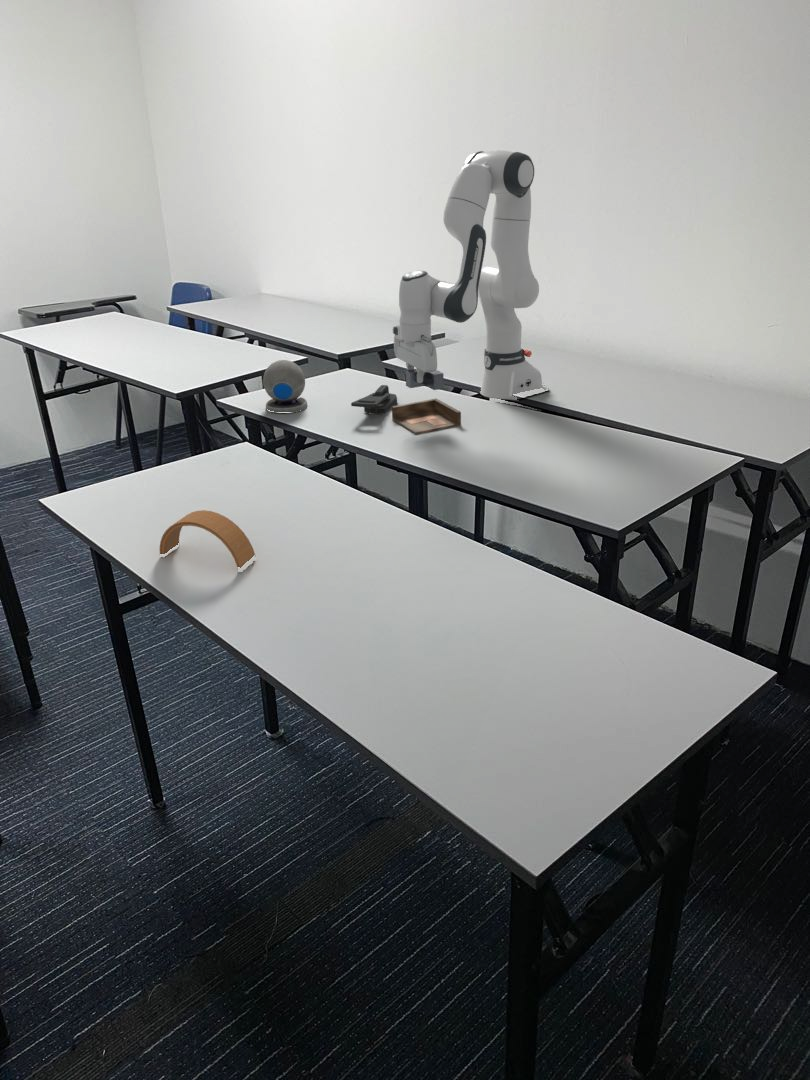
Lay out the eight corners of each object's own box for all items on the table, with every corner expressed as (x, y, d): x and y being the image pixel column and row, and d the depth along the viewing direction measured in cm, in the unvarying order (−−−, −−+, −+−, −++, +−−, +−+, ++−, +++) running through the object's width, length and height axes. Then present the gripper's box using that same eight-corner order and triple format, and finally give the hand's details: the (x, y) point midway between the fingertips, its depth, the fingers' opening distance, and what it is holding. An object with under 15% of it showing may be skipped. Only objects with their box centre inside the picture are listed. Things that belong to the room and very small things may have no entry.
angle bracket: (430, 381, 240) (430, 366, 238) (443, 388, 234) (443, 373, 231) (405, 385, 237) (405, 370, 235) (418, 392, 230) (418, 377, 228)
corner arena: (436, 411, 251) (436, 398, 249) (460, 425, 239) (460, 411, 237) (392, 419, 245) (391, 406, 243) (415, 434, 233) (414, 420, 231)
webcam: (308, 400, 264) (304, 354, 257) (305, 413, 253) (301, 365, 246) (268, 402, 264) (263, 356, 257) (263, 415, 252) (258, 367, 245)
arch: (177, 545, 176) (169, 503, 172) (256, 561, 169) (250, 517, 165) (160, 558, 172) (152, 515, 167) (241, 574, 164) (234, 529, 160)
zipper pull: (348, 403, 239) (372, 378, 261) (349, 424, 242) (373, 399, 264) (377, 404, 237) (399, 380, 259) (378, 426, 240) (399, 400, 262)
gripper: (443, 338, 222) (442, 387, 229) (409, 324, 239) (409, 370, 245) (422, 341, 220) (422, 391, 226) (389, 326, 236) (390, 373, 243)
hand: (415, 380), depth 236 cm, fingers closed on angle bracket, 3 cm apart
